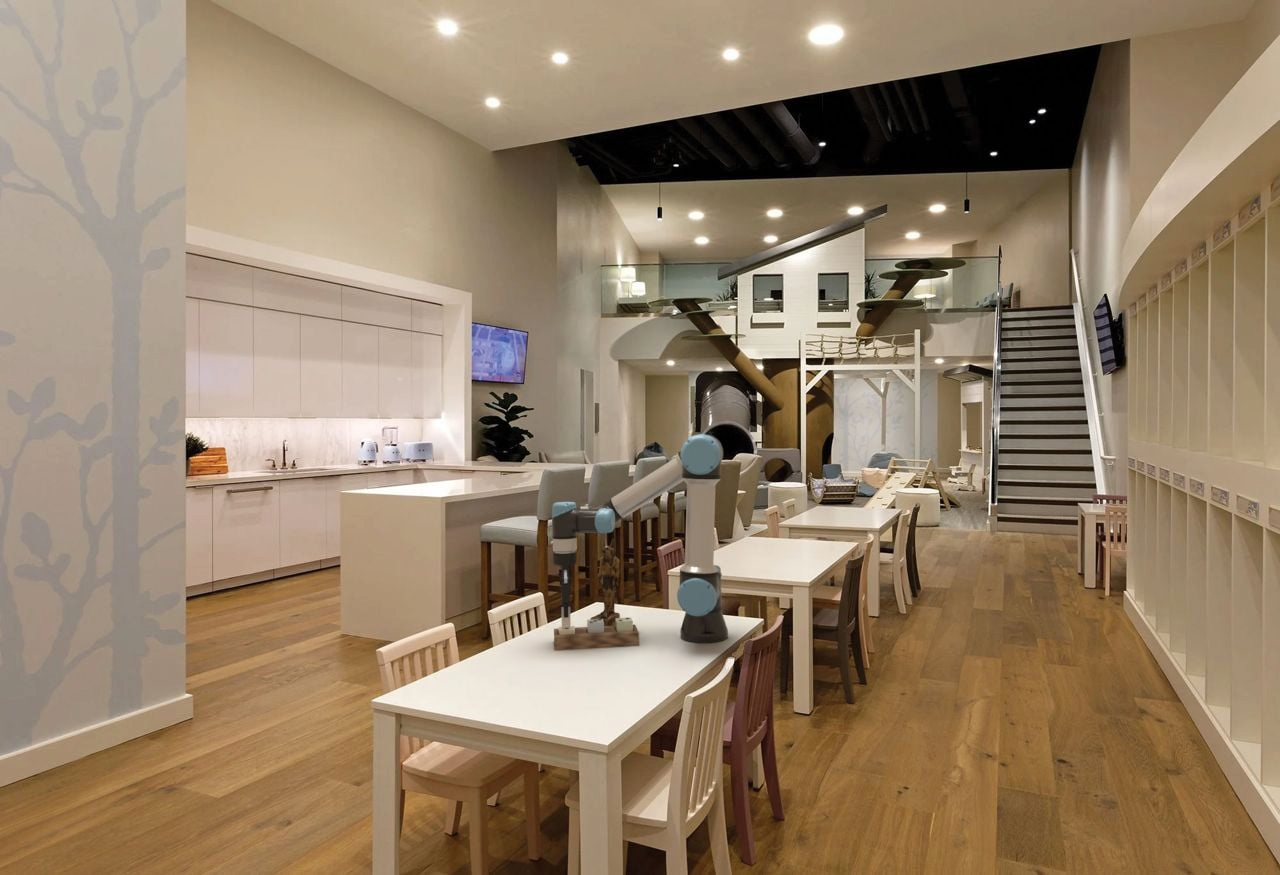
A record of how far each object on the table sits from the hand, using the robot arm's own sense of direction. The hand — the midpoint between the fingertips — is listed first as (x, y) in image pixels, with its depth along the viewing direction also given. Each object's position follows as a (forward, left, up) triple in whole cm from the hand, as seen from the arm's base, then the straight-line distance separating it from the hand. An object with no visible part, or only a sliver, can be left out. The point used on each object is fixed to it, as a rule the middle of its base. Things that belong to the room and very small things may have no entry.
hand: (566, 627), depth 251 cm
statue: (+3, -23, -6) cm, 24 cm away
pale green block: (-13, -13, -3) cm, 18 cm away
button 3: (-7, -6, -3) cm, 10 cm away
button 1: (0, 0, -4) cm, 4 cm away
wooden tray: (-7, -6, -6) cm, 11 cm away
